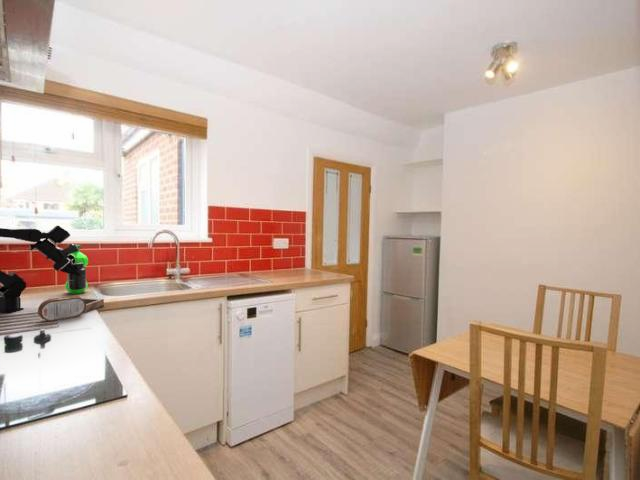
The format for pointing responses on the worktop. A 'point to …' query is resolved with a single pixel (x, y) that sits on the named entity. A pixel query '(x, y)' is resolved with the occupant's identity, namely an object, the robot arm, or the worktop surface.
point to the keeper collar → (93, 304)
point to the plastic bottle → (83, 259)
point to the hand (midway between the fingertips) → (81, 274)
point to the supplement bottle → (77, 278)
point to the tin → (61, 308)
